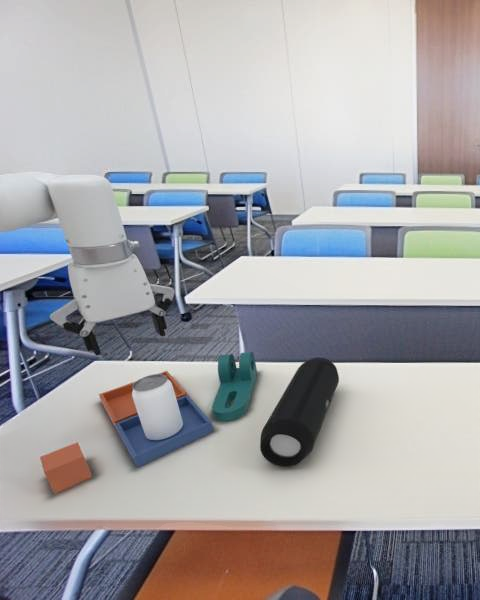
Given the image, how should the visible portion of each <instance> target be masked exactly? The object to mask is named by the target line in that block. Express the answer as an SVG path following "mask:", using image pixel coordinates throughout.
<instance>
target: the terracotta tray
mask: <svg viewBox="0 0 480 600" xmlns="http://www.w3.org/2000/svg"><path fill="white" fill-rule="evenodd" d="M158 374H163V375H166V376H167V378H168V380H169V381H171V383H172V386H173V389H174V393H175V396H176V399H179V398H181V397H184V396H186V395H188V394H187V392H186V391H185V390H184V389H183V388H182V387H181V385H180V384H179V383H178V381H176V380H175V378H174V377H173V376H172V375H171V374H170V372H169V371H168V370H165V371H161V372H159V373H158ZM135 382H136V381H132V382H130V383H127V384H125V385H122V386H119V387H116V388H112V389H110V390H108V391H104V392H102V393H99V394H98V397H99V398H100V402H101V404H102V406H103V407H104V409H105V411H106V413H107V415H108V416H109V419H110V420H111V422H112V424H113V426H114V428H115V429H116V431H117V428H116V425H115V423H118V422H120V421H123V420H126V419H128V418H131V417H133V416H136V415H138V412H137V409H136V406H135V403H134V400H133V397H132V391H133V388H132V386H133V384H134V383H135Z"/></svg>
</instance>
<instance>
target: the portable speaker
mask: <svg viewBox="0 0 480 600" xmlns="http://www.w3.org/2000/svg"><path fill="white" fill-rule="evenodd" d="M339 377H340V376H339V372H338V367H337V366H336V365H335V364H334V363H333V362H332V361H331V360H329V359H328V358H325V357H313V358H310V359H308V360H306V361H304V362H303V363H302V364H300V366H299V367H298V368H297V370H296V371H295V373H294V375H293V376H292V378H291V379H290V382H288V383H289V384H288V385H287V387H286V388H285V390H284V392H283V393H282V395H281V397H280V399H279V401H278V402H277V403H276V405H275V407H274V409H273V411H272V413H270V416H269V418H268V419H267V421H266V423H265V424H264V426H263V428H262V430H261V432H260V440H259V441H260V442H259V451H260V453H261V455H262V456H263V458H264V459H265V460H266V461H267V462H268V463H270V464H273V465H274V466H278V467H282V468H283V467H284V468H288V467H289V468H290V467H294V466H296V465H298V464H301V462H303V461H304V460H305V459H306V458H307V457H308V456H309V455H310V454H311V453H312V452H313V449H314V446H315V443H316V441H317V439H318V436H319V433H320V431H321V429H322V426H323V423H324V420H325V418H326V415H327V412H328V410H329V407H330V405H331V402H332V400H333V397H334V395H335V392H336V390H337V387H338V386H339V382H340V378H339Z"/></svg>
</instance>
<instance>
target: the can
mask: <svg viewBox="0 0 480 600" xmlns="http://www.w3.org/2000/svg"><path fill="white" fill-rule="evenodd" d="M134 382H135V383H134V384H133V386H132V388H133V391H132V397H133V400H134V403H135V406H136V409H137V412H138V415H139V418H140V421H141V424H142V427H143V430H144V433H145V436H146V437H147V438H148V439H150V440H154V441H159V440H164V439H167V438H170V437H172V436H174V435H175V434H177V433H178V432H179V431H180V429H181V428H182V426H183V421H182V417H181V414H180V410H179V407H178V403H177V399H176V396H175V393H174V389H173V386H172V383H171V381H169V380H168V378H167V376H166V375H163V374H159V373H154V374H149V375H146V376H143V377H141V378H139V379H137V380H136V381H134Z"/></svg>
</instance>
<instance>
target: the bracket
mask: <svg viewBox="0 0 480 600" xmlns="http://www.w3.org/2000/svg"><path fill="white" fill-rule="evenodd" d="M217 374H218V379H219V384H220V385H219V387H218V390H217V393H216V395H215V398H214V400H213V403H212V405H211V410H212V414H213V418H214V419H215V420H216V421H218V422H230V421H234V420H237V419H239V418H241V417H242V416H244V415H245V414H246V413H247V412H248V409H249V406H250V402H251V398H252V395H253V391H254V389H255V388H254V387H255V384H256V380H257V377H258V370H257V363H256V359H255V355H254V352H253V351H247V352H241V353H240V354H239V358H238V367H237V363H236V359H235V355H234V354H233V353H226V354H220V355H219V357H218V360H217ZM232 401H233V403H232V405H231V402H232ZM230 405H231V406H230Z"/></svg>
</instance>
